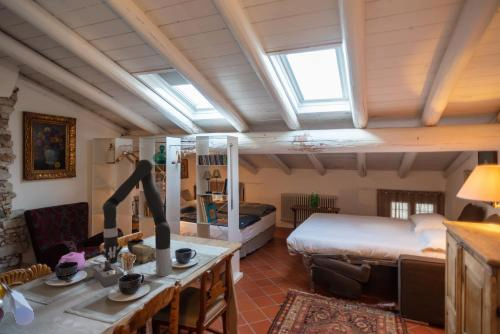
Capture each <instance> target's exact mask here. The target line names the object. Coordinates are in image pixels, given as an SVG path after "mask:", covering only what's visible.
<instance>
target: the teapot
mask: <svg viewBox="0 0 500 334" xmlns="http://www.w3.org/2000/svg"><path fill="white" fill-rule="evenodd" d="M85 254H86V253H85V251H81V252H74V251H71V252H69V253H67V254H65V255H62V256H61V258H60V259H59V260H58V265H59V264H60V263H65V262H77V263H78V270H81V271H83V268H85V266H86V259H85Z"/></svg>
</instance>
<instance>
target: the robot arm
mask: <svg viewBox="0 0 500 334" xmlns="http://www.w3.org/2000/svg"><path fill="white" fill-rule="evenodd" d="M152 171H153V162H151V161H150V160H148V159H139V160H138V161H137V162H136V164H135V169H134V171H133V172H132V173H131V175H129V177H128V178H127V179H126V180H125V181H124V182H123V183H121V184H120V186H119V187H117V189H116V190H115V191H114V193H113V194H112V195H111V196H110V197H109V198H108V199H107V200H106V201H105V202H104V203H103V204H102V211H103V218H104V219H103V244H104V245H103V248H102V249H100V250H99V252H100V254H101V253H102V254H103V255H104V256H105V257H107V258H109V262H110V263H111V264H114V262H115V256H117V255H119V254H120V252H121V251H122V250H123V246H122V245H120V244H119V236H118V235H119V232H118V228H117V225H118V224H117V207H119V205H120V203H122V202H123V201H125V199H126V198H127V197H128V196H129V194H131V192H132V191H133V190H134V189H135V188H136V186H137V185H138V184H139V183H141V185H142V190H143V195H144V198H145V201H146V204H147V207H148V209H149V212H150V214H151V216H152V218H153V222H154V234H155V235H154V239H155V240H154V241H155V242H154V244H155V247H154V248H155V250H156V252H155V253H156V261H155V276H157V277H166V276H169V275H171V274H172V273H173V258H171V227H170V225H169V222H168V220H167V218H166V215H165V212H164V205H163V200H162V196H161V193H160V190H159V188H158V187H157V184H156V182H155V180H154V178H153V174H152V173H153V172H152ZM117 248H118V249H117ZM116 249H117V251H116ZM105 250H106V251H107V252H108V255H107V254H106V253H105ZM115 251H116V252H115ZM102 254H101V255H102ZM103 255H102V256H103ZM104 256H103V257H104ZM105 257H104V258H105ZM117 257H118V256H117ZM114 265H115V264H114Z"/></svg>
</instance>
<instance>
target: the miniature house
mask: <svg viewBox="0 0 500 334" xmlns="http://www.w3.org/2000/svg"><path fill="white" fill-rule="evenodd" d="M131 253H132V254H134V255H136V260H135V263H136V264H138V265H145V264H148V263H150V262H151V263H154V262H156V248H155V247H154V248H153V247H152V245H147V244H143V243H137V244H135V245H132V246H131ZM132 254H131V255H132ZM135 263H134V264H135Z"/></svg>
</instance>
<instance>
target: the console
mask: <svg viewBox="0 0 500 334" xmlns="http://www.w3.org/2000/svg"><path fill="white" fill-rule="evenodd" d="M111 270H115V274H113V275H109V271H106V272H105V267H104V268H101V264H99V265H95V266H92V276H93V278H94V279H95V280H96V281H97V282H99V284H100V285H101V286H102V287H104V288H108V287H111V286H114V285H119V283H118V279H119V278H120V277H121V276H123V275H124V271H123V270H121V269H120V268H118V266H116V265H115V264H111ZM111 270H110V271H111Z"/></svg>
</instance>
